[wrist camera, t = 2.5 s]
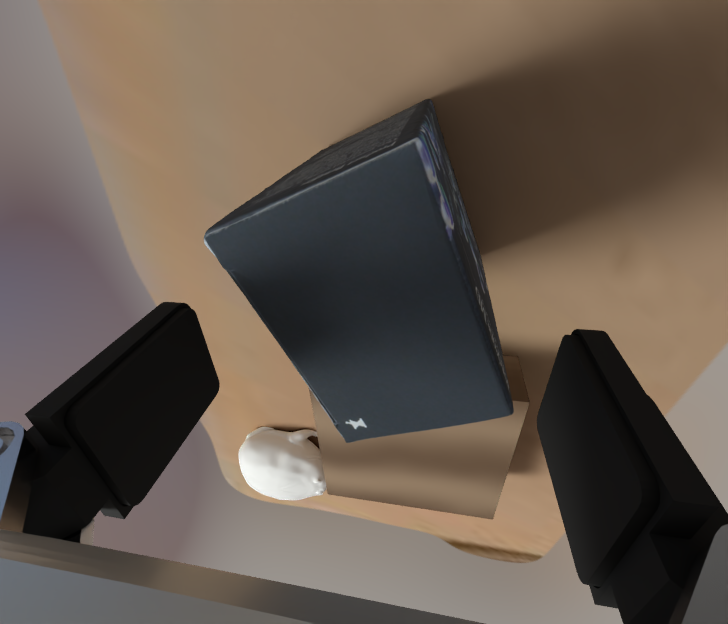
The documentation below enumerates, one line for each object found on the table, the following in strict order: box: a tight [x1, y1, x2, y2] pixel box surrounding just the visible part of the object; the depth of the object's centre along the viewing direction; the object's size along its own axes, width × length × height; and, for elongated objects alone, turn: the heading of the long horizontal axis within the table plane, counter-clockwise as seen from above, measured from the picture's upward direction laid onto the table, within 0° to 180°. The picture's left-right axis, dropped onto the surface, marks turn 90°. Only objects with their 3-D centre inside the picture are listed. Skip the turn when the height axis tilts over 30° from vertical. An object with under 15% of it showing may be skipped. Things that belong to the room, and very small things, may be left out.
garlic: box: [239, 427, 327, 500], centre depth 30 cm, size 8×7×4 cm
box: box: [204, 99, 514, 443], centre depth 13 cm, size 8×6×11 cm
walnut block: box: [309, 355, 530, 519], centre depth 25 cm, size 12×12×4 cm
